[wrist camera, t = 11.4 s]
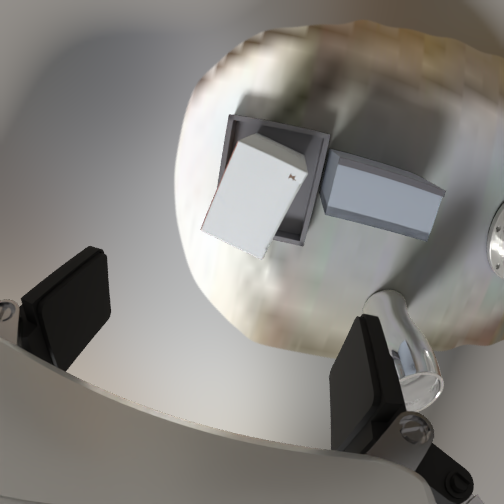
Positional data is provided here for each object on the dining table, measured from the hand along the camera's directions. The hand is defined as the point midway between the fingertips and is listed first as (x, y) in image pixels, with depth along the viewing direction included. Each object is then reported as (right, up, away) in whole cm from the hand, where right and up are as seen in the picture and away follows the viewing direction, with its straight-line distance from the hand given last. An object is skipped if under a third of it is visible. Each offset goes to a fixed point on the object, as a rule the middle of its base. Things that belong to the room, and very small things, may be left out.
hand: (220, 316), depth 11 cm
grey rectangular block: (+14, +10, +20) cm, 26 cm away
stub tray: (+3, +10, +22) cm, 24 cm away
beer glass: (+18, -5, +27) cm, 33 cm away
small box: (+3, +10, +21) cm, 24 cm away
